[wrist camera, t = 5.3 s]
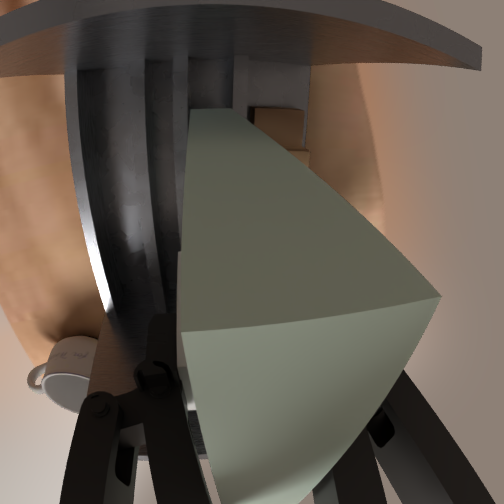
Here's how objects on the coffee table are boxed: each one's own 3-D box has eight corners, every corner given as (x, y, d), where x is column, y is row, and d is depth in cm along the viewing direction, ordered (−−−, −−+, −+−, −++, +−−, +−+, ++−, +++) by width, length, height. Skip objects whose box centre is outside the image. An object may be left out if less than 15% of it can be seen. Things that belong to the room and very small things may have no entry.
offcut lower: (250, 106, 23) (254, 108, 22) (296, 108, 24) (304, 110, 22) (246, 234, 30) (249, 244, 28) (286, 232, 30) (292, 242, 28)
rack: (83, 64, 20) (-83, 66, 3) (305, 56, 23) (481, 47, 6) (114, 291, 32) (84, 456, 16) (285, 280, 35) (351, 432, 19)
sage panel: (190, 109, 17) (181, 333, 2) (230, 108, 18) (441, 296, 3) (198, 291, 25) (228, 527, 10) (229, 288, 25) (282, 519, 10)
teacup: (126, 330, 35) (119, 382, 28) (128, 379, 40) (124, 425, 33) (28, 313, 31) (8, 359, 25) (44, 364, 36) (32, 407, 30)
